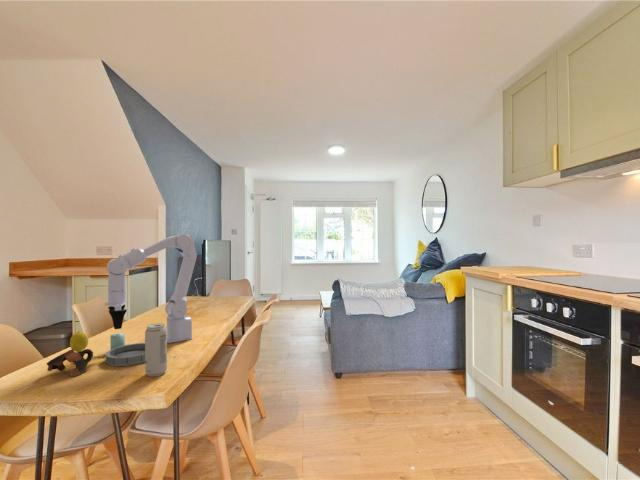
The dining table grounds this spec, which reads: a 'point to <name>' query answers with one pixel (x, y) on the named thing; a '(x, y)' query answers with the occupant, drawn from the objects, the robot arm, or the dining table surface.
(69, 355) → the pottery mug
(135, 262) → the robot arm
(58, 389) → the dining table surface
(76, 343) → the lemon
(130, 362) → the tray
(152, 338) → the energy drink can
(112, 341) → the teal cup
